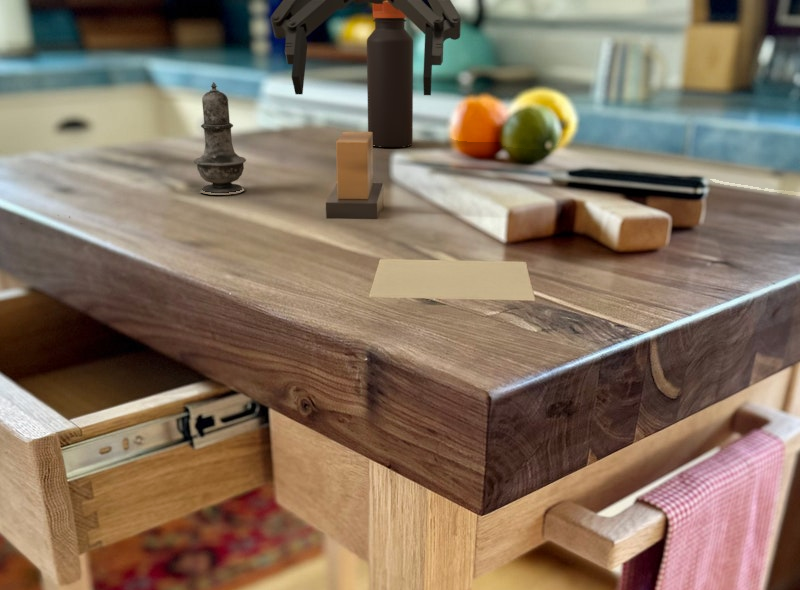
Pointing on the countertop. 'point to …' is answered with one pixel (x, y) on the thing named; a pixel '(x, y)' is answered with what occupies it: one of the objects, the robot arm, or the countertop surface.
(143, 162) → the countertop surface
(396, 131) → the bottle
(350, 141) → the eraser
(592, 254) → the countertop surface
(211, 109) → the salt shaker
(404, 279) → the memo board
